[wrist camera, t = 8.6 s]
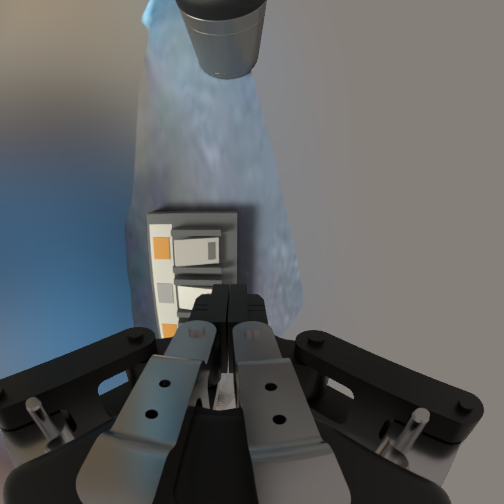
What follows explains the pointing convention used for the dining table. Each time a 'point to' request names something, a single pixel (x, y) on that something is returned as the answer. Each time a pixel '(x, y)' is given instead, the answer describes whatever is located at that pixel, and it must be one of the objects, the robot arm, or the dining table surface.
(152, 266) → the switch unit
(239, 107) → the dining table surface
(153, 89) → the dining table surface
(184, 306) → the switch mid
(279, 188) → the dining table surface
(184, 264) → the switch
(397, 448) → the robot arm
